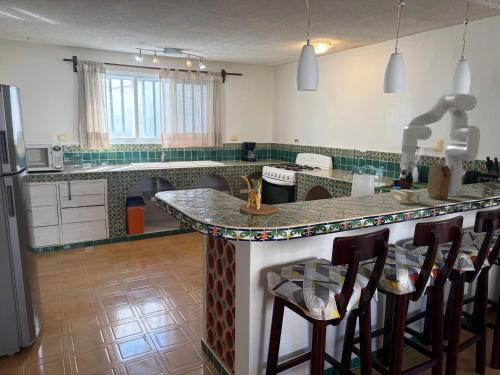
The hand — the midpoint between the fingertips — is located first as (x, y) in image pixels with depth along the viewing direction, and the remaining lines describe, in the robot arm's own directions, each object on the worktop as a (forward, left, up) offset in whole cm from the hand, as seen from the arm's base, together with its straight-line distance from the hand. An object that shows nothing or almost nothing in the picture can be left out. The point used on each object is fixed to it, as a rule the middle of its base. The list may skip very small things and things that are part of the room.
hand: (406, 180), depth 204 cm
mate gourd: (0, 0, -5) cm, 5 cm away
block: (-23, -12, -12) cm, 28 cm away
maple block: (0, 0, -12) cm, 12 cm away
